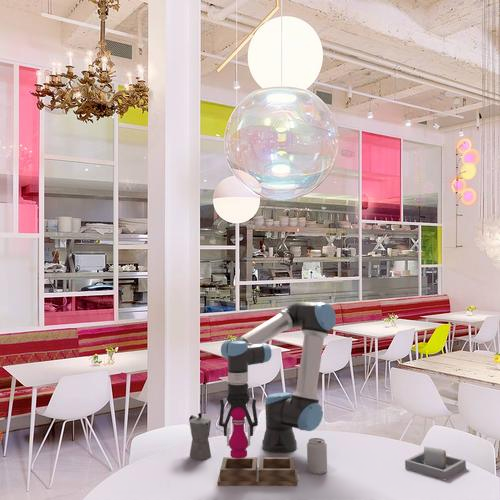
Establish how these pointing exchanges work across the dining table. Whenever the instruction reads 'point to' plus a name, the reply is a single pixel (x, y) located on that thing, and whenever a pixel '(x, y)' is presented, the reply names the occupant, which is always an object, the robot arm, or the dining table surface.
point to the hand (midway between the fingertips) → (238, 444)
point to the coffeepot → (200, 437)
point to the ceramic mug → (435, 457)
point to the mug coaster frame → (416, 465)
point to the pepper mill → (238, 434)
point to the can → (317, 456)
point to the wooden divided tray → (258, 472)
